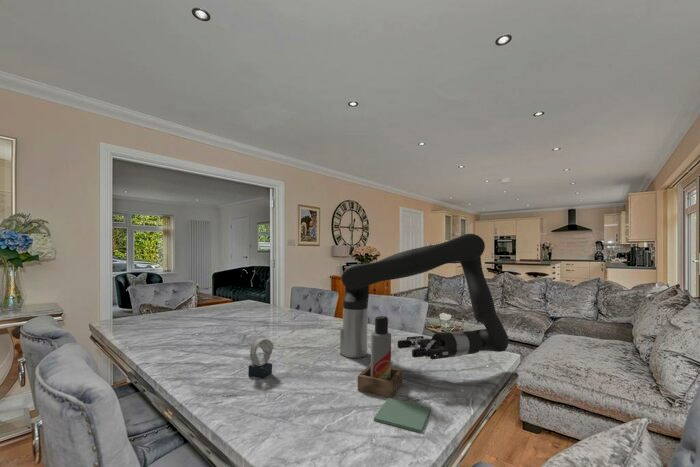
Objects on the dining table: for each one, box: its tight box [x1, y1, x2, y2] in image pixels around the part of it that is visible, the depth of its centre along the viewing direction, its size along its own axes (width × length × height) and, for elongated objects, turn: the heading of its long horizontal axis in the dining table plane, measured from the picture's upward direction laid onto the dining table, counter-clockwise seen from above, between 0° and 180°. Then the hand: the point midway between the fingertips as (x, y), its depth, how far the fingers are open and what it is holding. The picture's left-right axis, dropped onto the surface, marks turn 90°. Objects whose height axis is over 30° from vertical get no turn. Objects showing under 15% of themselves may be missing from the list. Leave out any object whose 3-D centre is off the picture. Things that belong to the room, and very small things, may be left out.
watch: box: [247, 337, 275, 380], centre depth 99 cm, size 6×8×11 cm
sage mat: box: [373, 397, 432, 434], centre depth 76 cm, size 11×11×1 cm
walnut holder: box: [357, 363, 403, 399], centre depth 91 cm, size 10×10×4 cm
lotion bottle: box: [370, 315, 392, 381], centre depth 92 cm, size 6×6×20 cm
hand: (405, 348), depth 94 cm, fingers open, 8 cm apart
